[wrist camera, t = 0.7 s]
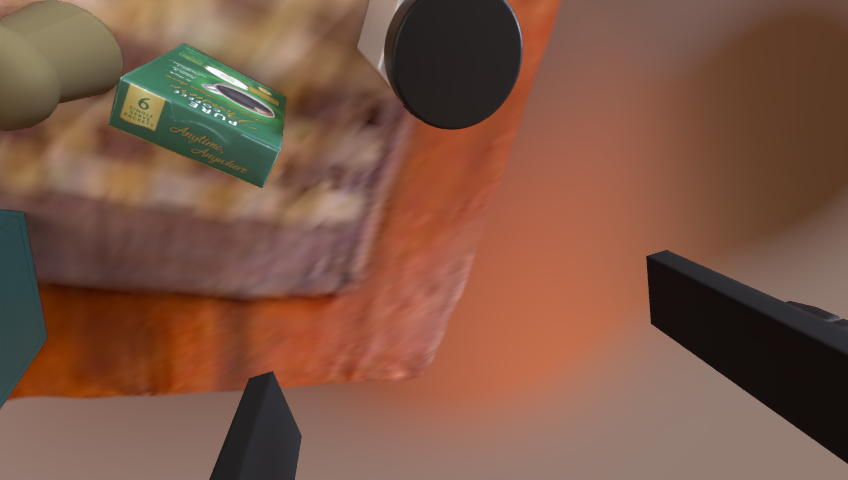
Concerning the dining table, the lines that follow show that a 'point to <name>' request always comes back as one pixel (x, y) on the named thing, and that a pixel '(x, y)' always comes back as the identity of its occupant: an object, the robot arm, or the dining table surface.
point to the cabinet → (17, 303)
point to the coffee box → (203, 113)
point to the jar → (444, 56)
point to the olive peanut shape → (52, 61)
